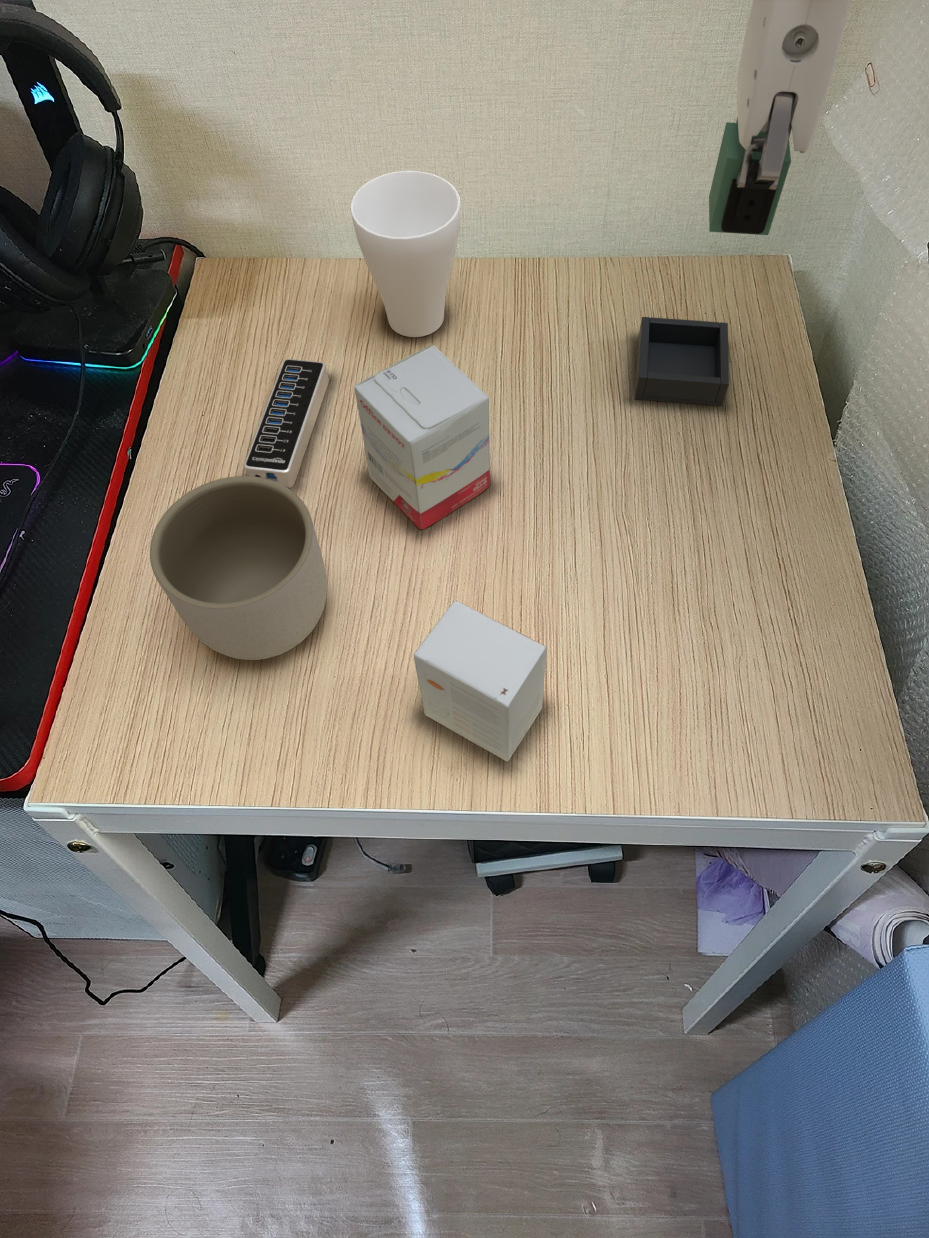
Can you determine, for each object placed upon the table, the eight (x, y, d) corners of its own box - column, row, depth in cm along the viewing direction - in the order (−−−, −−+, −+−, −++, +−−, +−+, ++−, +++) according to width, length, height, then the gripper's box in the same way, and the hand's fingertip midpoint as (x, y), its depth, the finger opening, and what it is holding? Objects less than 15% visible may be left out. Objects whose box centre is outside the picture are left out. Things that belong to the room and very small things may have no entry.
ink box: (493, 487, 82) (493, 395, 71) (419, 533, 79) (408, 445, 69) (439, 433, 85) (431, 338, 75) (366, 476, 83) (349, 384, 73)
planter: (340, 665, 73) (317, 596, 63) (190, 686, 72) (145, 619, 63) (331, 545, 79) (309, 466, 69) (193, 563, 78) (152, 486, 69)
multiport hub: (329, 378, 89) (326, 361, 87) (293, 488, 82) (288, 472, 80) (288, 374, 90) (283, 357, 88) (248, 483, 83) (242, 467, 81)
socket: (721, 345, 90) (728, 322, 88) (722, 406, 86) (729, 384, 83) (637, 339, 91) (642, 316, 88) (634, 399, 87) (638, 377, 84)
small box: (543, 709, 70) (550, 646, 61) (507, 765, 68) (509, 708, 59) (459, 662, 72) (454, 596, 63) (422, 715, 70) (411, 653, 61)
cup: (381, 281, 97) (365, 165, 85) (473, 291, 96) (470, 175, 84) (356, 346, 92) (336, 233, 80) (453, 358, 90) (448, 244, 79)
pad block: (766, 199, 69) (788, 125, 64) (768, 235, 67) (791, 161, 62) (708, 196, 70) (726, 122, 65) (709, 232, 68) (727, 158, 62)
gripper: (896, 7, 48) (795, 284, 64) (866, -126, 56) (784, 148, 72) (756, 1, 48) (691, 277, 64) (748, -129, 57) (692, 143, 73)
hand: (741, 207), depth 68 cm, fingers closed on pad block, 4 cm apart
